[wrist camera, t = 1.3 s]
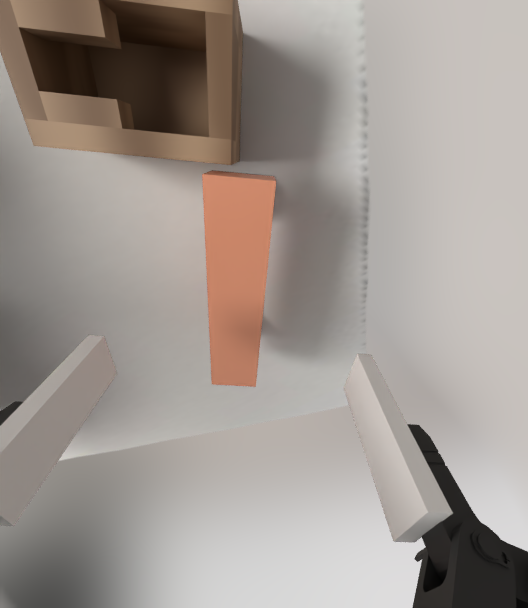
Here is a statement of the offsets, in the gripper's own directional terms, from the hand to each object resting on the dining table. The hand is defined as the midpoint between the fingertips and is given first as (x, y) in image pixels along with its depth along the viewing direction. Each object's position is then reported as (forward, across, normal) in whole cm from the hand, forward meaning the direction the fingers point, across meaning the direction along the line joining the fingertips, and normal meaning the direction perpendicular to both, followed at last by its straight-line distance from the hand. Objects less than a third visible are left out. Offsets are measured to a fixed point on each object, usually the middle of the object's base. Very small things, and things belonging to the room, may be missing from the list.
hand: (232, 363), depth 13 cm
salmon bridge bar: (+13, 0, 0) cm, 13 cm away
